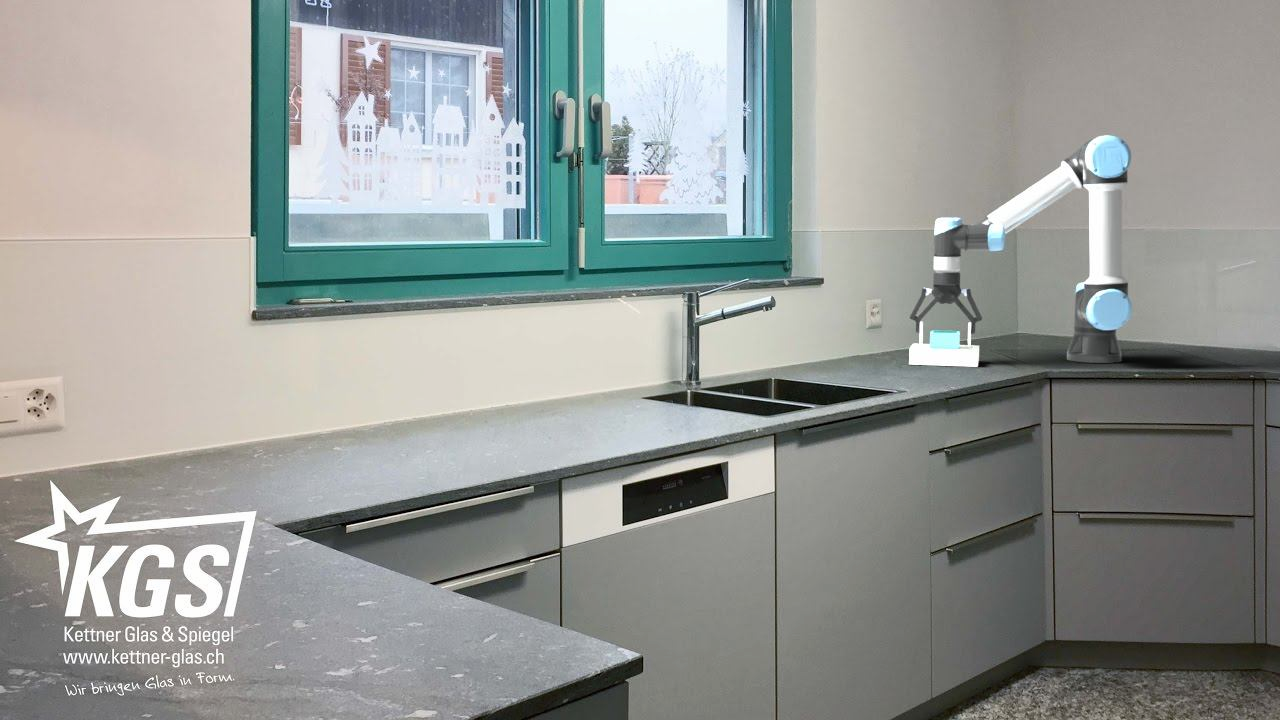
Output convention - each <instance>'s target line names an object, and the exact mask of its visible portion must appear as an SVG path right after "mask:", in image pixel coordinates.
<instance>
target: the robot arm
mask: <svg viewBox="0 0 1280 720" xmlns="http://www.w3.org/2000/svg"><path fill="white" fill-rule="evenodd" d="M1131 161H1132V151H1131V148H1130V147H1129V145H1128V144H1127V142H1126V141H1125V140H1123V139H1122V138H1121V137H1118V136H1114V135H1108V134H1106V135H1099V136H1097V137H1096V138H1092V139H1090V140H1088V141H1086V142H1085V143H1084V144H1082V146H1080V147H1079V148H1078V149H1077V150H1076V151H1075V152H1073V153H1072V154H1070V155H1069V156H1068V157H1066V158H1065V159H1064V160H1062V161H1061V163H1060V167H1058V168H1057V169H1055V170H1054V171H1052V172H1051V173H1049V174H1048V175H1046V176H1045V177H1043V178H1041V180H1038V181H1037V182H1036V183H1034V184H1033V185H1031V186H1029V187H1028V188H1027V189H1026V190H1024V191H1023V192H1021V193H1020V194H1018V195H1016V196H1014V197H1013V198H1012V199H1011V200H1009V201H1007V202H1006V203H1005V204H1003V205H1001V206H1000V207H998V208H997V209H996V210H993V212H990V214H988V215H987V216H985V217H984V218H982V219H981V220H979V221H978V222H976V223H973V224H965V223H964V224H963V222H962V221H963V220H962V218H961V217H940V218H939V217H938V218H937V219H936V220H935V224H934V234H933V235H934V238H933V239H934V242H933V244H934V245H933V246H934V247H933V253H934V254H933V255H934V256H933V270H934V271H935V272H934V273H933V280H932V281H933V283H932V288H927V287H923V288H922V289H921V294H920V297H919V299H918V301H917V303H916V304H915V305H914V309H913V310H912V312H911V314H910V316H909V319H910V320H912V321H914V322H915V331H916V332H915V333H917V334H918V333H919V343H918V344H924V343H923V340H924V321H923V320H922V319H923V318H924V317H925V316H926V315H927V314H928V313H929V312H930V310H932V308H933V307H934V306H935V305H936V304H937V303H938V304H941V305H942V304H943V305H944V304H948V305H952V304H954V303H955V305H956V306H957V307H958V308H959V310H960V311H961V312H962V313H963V314H964V315H965V316H966V318H967V319H968V320H969V321H970V322H968V325H967V345H968V346H970V345H971V343H972V335H975V333H976V323H977V322H980V321H982V320H983V317H982V314H981V312H980V310H979V308H978V307H977V305H976V302H975V300H974V298H973V296H972V289H971V288H969V287H968V288H965V289H963V288H961V273H960V270H961V265H962V264H961V261H962V259H961V258H962V252H963V251H964V252H967V251H969V252H971V251H972V252H973V251H974V252H977V251H978V252H995V251H996V252H999V251H1002V250H1004V248H1005V242H1006V234H1008V233H1009V232H1011V231H1013V230H1014V229H1015V228H1017V227H1019V226H1020V225H1021V224H1023V223H1024V222H1026V221H1027V220H1028V221H1029V219H1031V218H1033V217H1034V216H1036V215H1037V214H1038V213H1040V212H1041V211H1043V210H1045V209H1046V208H1048V207H1049V206H1050V205H1052V204H1053V203H1055V202H1056V201H1058V200H1060V199H1061V198H1064V196H1066V195H1068V194H1069V193H1070V192H1073V190H1075V189H1079V190H1080V189H1082V188H1085V190H1086V191H1088V209H1089V211H1088V213H1089V215H1088V224H1089V225H1088V228H1089V233H1088V235H1089V237H1088V238H1089V242H1088V243H1089V247H1088V248H1089V277H1088V278H1087V279H1086V280H1085V281H1084V282H1079V283H1077V285H1076V286H1075V287H1076V289H1075V292H1074V296H1075V298H1074V299H1075V301H1074V303H1075V305H1074V323H1073V324H1074V326H1073V328H1074V329H1073V336H1072V338H1071V341H1070V344H1069V345H1068V348H1067V351H1066V360H1067V361H1071V362H1079V363H1092V364H1093V363H1095V364H1114V362H1115V363H1120V362H1122V352H1121V348H1120V347H1121V346H1120V344H1119V341H1118V337H1117V329H1119V328H1122V326H1124V325H1125V324H1126V323H1127V322H1128V321H1129V320H1130V318H1131V314H1132V312H1133V310H1132V309H1133V308H1132V302H1131V299H1130V297H1129V281H1128V280H1127V279H1126V278H1125V276H1123V214H1122V213H1123V210H1122V209H1123V205H1122V201H1123V199H1122V196H1123V195H1122V192H1123V189H1124V188H1125V187H1126V186H1127V185H1128V175H1129V174H1128V173H1129V172H1128V169H1129V168H1130V164H1131ZM929 294H931V295H932V296H933V297H934V298H933V300H932V301H931V302H930V303H929V304H928V305H927V307H925V308H924V310H923V311H922V312H921V313H920V314H919V315H918V316H917V314H918V312H919V310H920V308H921V306H922V304H923V302H924V301H925V299H926V297H928V296H929ZM961 294H963V296H964V297H967V301H968V303H969V304H970V306H971V307H970V308H971V309H972V311H973V313H974V315H975V317H974V315H972V314H971V312H970V311H969V310H968V308H967V307H966V306H965V305H964V303H962V301H961V300H960V299H959V297H960V296H961ZM971 346H972V345H971Z"/></svg>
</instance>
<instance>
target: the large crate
mask: <svg viewBox="0 0 1280 720" xmlns="http://www.w3.org/2000/svg"><path fill="white" fill-rule="evenodd" d="M908 356H909V358H908V360H909V361H908V365H912V366H914V365H915V366H919V365H921V366H948V367H975V368H976V367H977V368H978V366H979V362H980V345H970V346H968V344H960V350H950V349H930V343H923V344H919V343H912V345H911V346H910V348H909V353H908Z"/></svg>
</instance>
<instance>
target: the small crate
mask: <svg viewBox="0 0 1280 720" xmlns="http://www.w3.org/2000/svg"><path fill="white" fill-rule="evenodd" d="M929 334H930V335H929V336H930V337H929V344H930V349H950V350H960V345H961V343H960V342H961V331H960V330H938V329H937V330H933V329H931V331H930V332H929Z"/></svg>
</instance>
